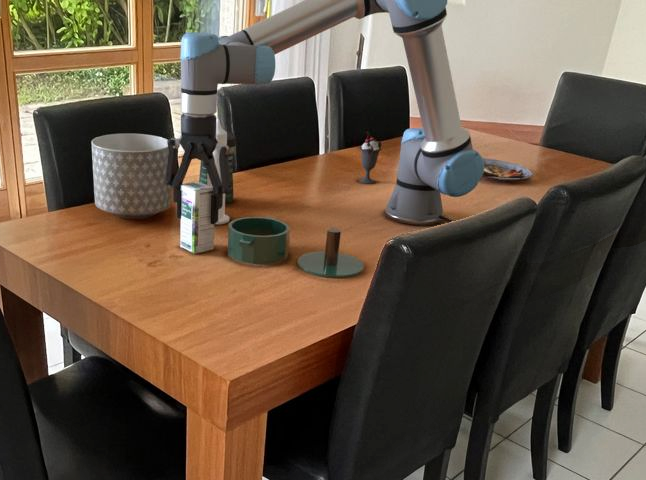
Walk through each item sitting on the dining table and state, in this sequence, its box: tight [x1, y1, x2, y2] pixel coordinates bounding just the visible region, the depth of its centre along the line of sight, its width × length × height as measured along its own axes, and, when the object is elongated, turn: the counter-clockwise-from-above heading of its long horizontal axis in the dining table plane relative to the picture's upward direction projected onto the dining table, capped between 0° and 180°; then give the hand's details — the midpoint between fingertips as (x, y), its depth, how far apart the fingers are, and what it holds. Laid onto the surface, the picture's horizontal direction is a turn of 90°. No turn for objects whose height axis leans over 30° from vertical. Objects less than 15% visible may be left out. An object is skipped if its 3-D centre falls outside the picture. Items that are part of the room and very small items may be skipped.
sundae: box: [358, 131, 382, 185], centre depth 226 cm, size 7×7×15 cm
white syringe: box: [207, 117, 231, 225], centre depth 183 cm, size 7×7×25 cm
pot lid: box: [296, 227, 365, 279], centre depth 162 cm, size 15×15×9 cm
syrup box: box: [180, 181, 215, 255], centre depth 167 cm, size 6×6×14 cm
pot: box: [227, 216, 291, 265], centre depth 167 cm, size 14×19×7 cm
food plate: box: [482, 157, 534, 182], centre depth 244 cm, size 25×23×4 cm
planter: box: [91, 133, 172, 221], centre depth 185 cm, size 19×19×18 cm
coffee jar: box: [198, 130, 237, 204], centre depth 199 cm, size 10×8×19 cm
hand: (197, 219), depth 168 cm, fingers closed on syrup box, 7 cm apart
